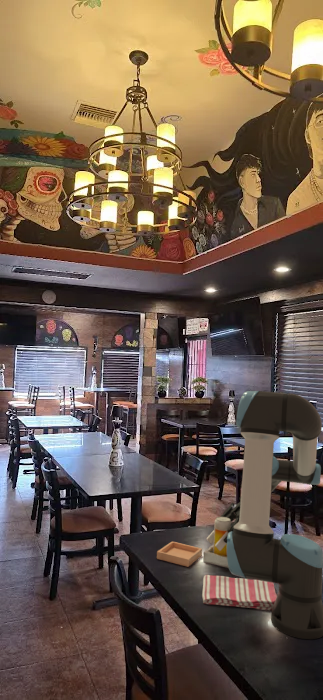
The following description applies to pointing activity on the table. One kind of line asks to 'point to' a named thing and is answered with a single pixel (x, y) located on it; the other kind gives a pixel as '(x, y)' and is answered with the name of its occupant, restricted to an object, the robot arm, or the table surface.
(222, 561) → the frame
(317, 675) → the table surface
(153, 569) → the table surface
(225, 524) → the beer can
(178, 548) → the serving tray
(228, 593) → the dish towel
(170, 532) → the table surface
